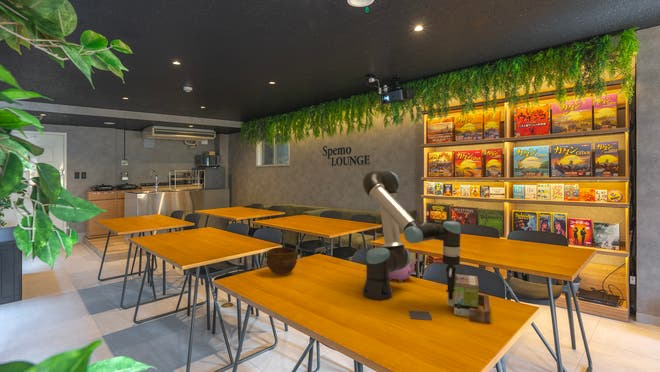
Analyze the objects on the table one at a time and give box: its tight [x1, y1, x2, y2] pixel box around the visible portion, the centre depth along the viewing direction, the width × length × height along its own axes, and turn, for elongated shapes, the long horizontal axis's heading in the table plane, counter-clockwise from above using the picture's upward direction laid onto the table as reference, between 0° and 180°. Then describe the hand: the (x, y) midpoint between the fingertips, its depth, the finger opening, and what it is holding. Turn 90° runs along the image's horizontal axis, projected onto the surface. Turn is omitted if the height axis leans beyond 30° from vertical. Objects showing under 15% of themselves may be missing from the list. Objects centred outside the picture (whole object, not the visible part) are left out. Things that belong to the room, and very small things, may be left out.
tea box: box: [453, 273, 480, 318], centre depth 155 cm, size 15×10×15 cm
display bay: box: [468, 293, 491, 324], centre depth 153 cm, size 8×22×5 cm, turn 157°
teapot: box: [389, 259, 418, 283], centre depth 201 cm, size 22×16×14 cm
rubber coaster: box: [408, 309, 433, 321], centre depth 149 cm, size 9×9×1 cm
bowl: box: [266, 246, 298, 275], centre depth 210 cm, size 19×19×15 cm
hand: (450, 305), depth 157 cm, fingers closed
